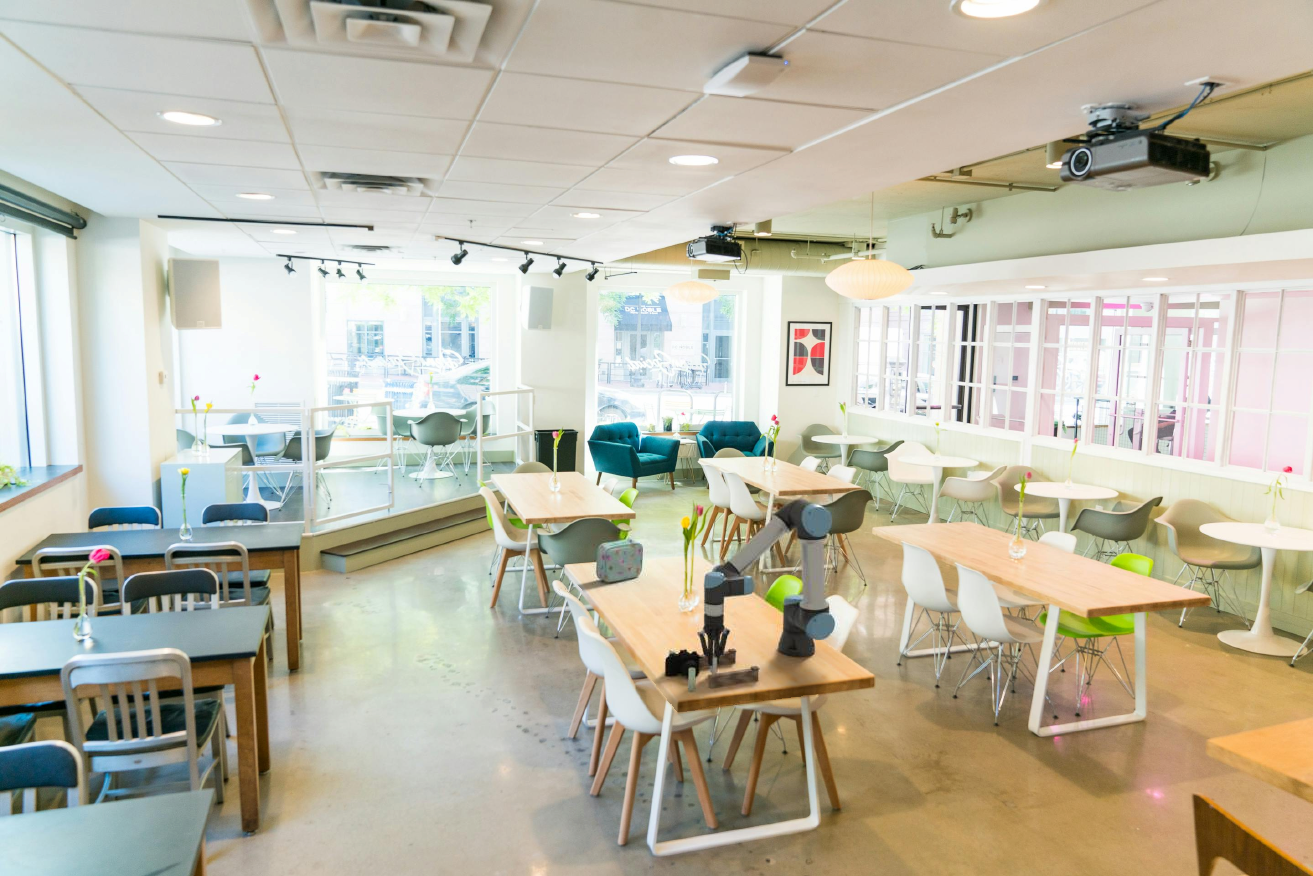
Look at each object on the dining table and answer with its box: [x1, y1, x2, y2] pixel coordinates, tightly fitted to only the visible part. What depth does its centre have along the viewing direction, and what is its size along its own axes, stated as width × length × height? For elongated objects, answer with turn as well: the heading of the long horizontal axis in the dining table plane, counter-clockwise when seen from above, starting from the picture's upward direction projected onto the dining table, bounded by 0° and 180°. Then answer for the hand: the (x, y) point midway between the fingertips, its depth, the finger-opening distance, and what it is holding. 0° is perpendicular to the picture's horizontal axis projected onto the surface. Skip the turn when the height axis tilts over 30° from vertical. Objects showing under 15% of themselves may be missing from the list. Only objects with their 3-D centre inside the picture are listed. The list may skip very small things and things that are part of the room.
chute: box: [699, 648, 760, 689], centre depth 317 cm, size 20×21×5 cm
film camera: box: [664, 648, 702, 679], centre depth 315 cm, size 15×10×9 cm, turn 115°
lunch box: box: [595, 538, 644, 584], centre depth 443 cm, size 27×10×21 cm, turn 130°
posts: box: [668, 649, 696, 692], centre depth 310 cm, size 2×21×8 cm, turn 22°
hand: (713, 673), depth 315 cm, fingers closed
